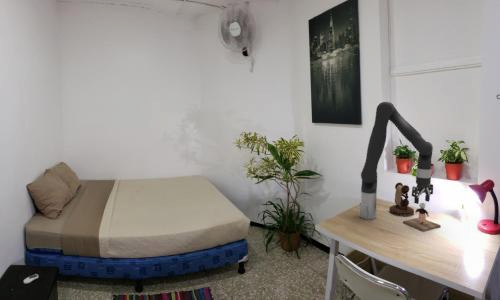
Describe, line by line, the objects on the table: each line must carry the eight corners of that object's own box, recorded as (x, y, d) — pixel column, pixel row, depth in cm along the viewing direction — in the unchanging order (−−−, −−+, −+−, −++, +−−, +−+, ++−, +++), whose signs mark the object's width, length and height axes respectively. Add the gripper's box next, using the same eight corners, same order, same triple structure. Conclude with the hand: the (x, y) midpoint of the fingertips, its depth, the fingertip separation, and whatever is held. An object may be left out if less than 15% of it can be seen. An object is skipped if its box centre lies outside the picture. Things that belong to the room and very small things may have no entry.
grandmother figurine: (429, 223, 177) (430, 203, 175) (428, 225, 175) (429, 204, 173) (415, 220, 182) (415, 200, 180) (413, 222, 179) (414, 202, 177)
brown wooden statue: (384, 209, 205) (385, 181, 202) (404, 208, 207) (405, 180, 204) (397, 217, 191) (398, 187, 188) (419, 215, 192) (420, 186, 189)
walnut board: (422, 231, 169) (423, 229, 169) (402, 223, 182) (402, 221, 182) (440, 227, 174) (440, 225, 174) (419, 219, 187) (419, 217, 187)
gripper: (426, 173, 179) (425, 198, 182) (408, 175, 175) (407, 202, 177) (438, 175, 172) (436, 202, 175) (420, 178, 168) (418, 206, 170)
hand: (421, 202), depth 176 cm, fingers open, 8 cm apart
